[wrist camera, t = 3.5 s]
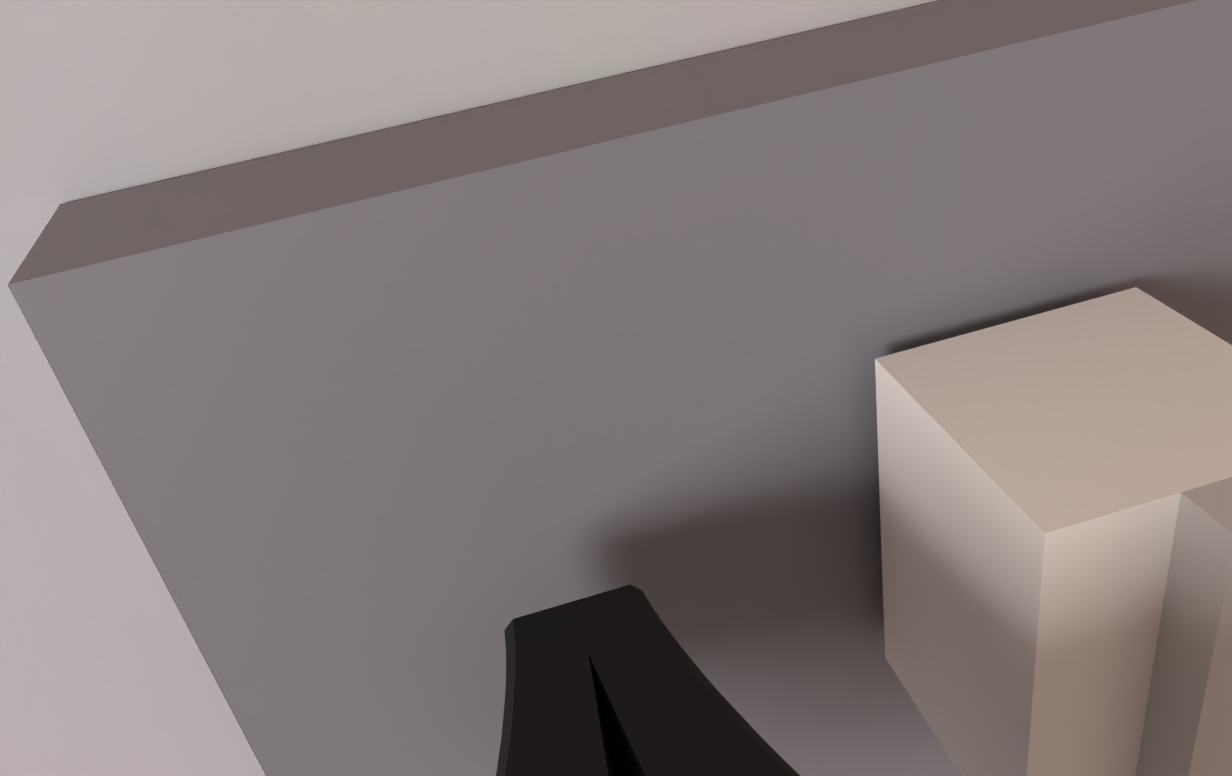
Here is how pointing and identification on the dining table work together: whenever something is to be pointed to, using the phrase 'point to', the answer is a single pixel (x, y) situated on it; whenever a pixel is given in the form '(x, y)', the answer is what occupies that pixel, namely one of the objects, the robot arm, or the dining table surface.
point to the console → (613, 358)
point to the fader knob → (1063, 541)
